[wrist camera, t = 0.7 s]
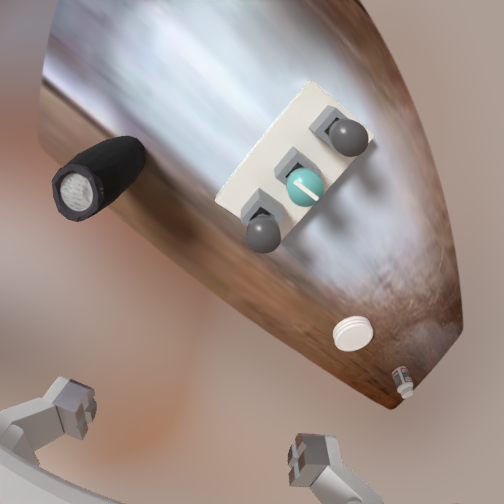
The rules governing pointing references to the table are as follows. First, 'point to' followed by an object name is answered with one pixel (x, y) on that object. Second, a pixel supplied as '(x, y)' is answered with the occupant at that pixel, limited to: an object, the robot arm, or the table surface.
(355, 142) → the near knob
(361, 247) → the table surface
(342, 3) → the table surface
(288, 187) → the teal dial
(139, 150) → the portable speaker
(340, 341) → the white jar lid
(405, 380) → the pill bottle
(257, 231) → the far knob
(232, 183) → the mount panel
